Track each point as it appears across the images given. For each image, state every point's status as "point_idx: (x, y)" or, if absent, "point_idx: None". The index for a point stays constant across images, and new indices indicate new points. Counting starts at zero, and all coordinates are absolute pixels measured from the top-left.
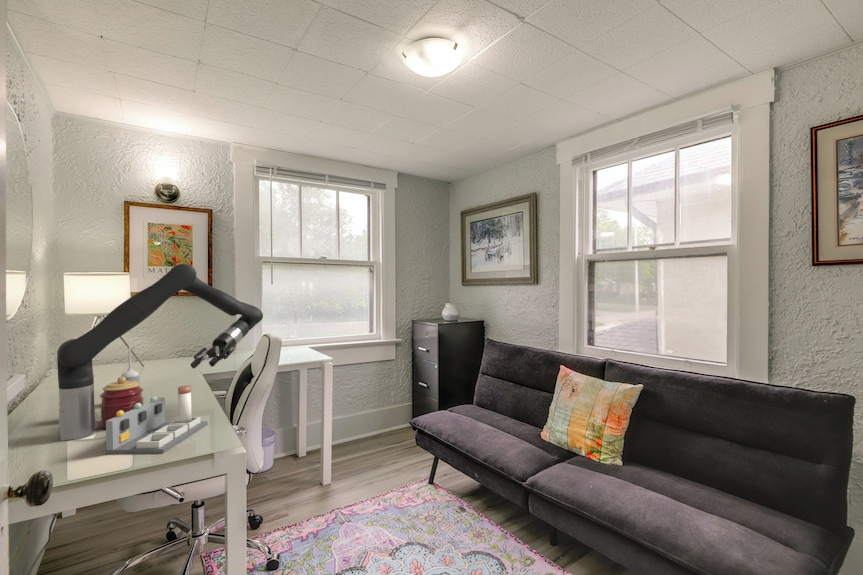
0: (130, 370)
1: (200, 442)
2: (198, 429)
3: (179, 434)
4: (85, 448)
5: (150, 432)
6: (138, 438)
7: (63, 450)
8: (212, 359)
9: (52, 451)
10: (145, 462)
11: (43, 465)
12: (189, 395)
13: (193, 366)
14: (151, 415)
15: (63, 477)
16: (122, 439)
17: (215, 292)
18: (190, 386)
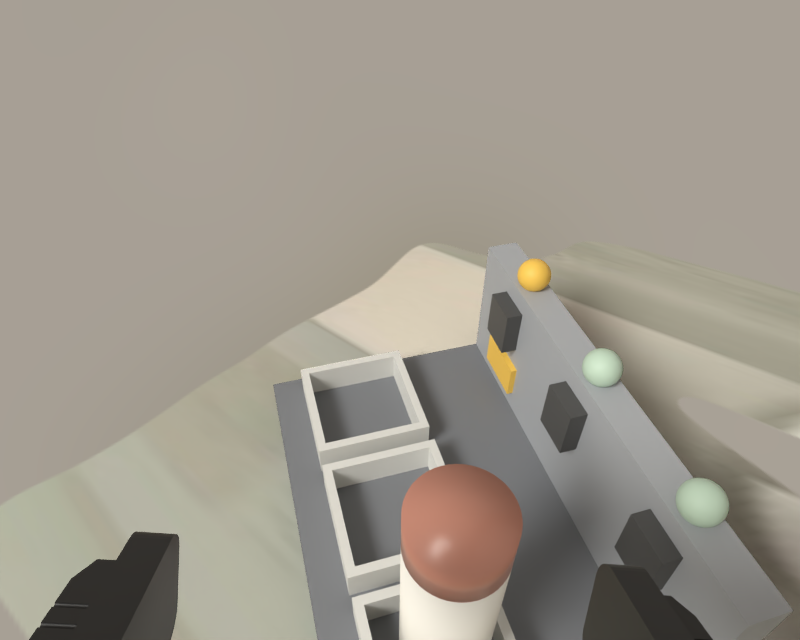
0: None
1: (180, 518)
2: None
3: (331, 514)
4: (646, 365)
5: (539, 513)
6: (508, 441)
7: (700, 339)
8: (110, 583)
9: (724, 327)
10: (280, 335)
11: (593, 269)
12: (400, 562)
13: (594, 617)
14: (614, 510)
15: (436, 244)
16: (490, 357)
17: None
18: (413, 545)
